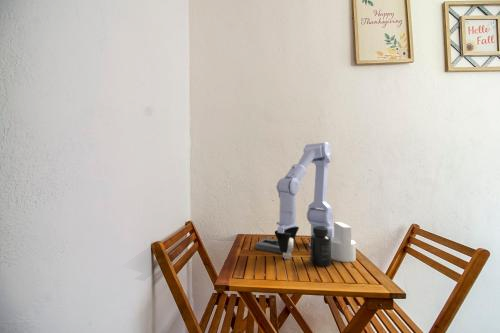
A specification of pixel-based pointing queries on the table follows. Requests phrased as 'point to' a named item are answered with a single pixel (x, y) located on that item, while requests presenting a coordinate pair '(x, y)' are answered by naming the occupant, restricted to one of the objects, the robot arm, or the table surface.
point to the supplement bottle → (320, 247)
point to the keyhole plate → (268, 245)
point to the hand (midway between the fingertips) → (287, 249)
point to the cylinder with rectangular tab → (343, 243)
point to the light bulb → (289, 250)
